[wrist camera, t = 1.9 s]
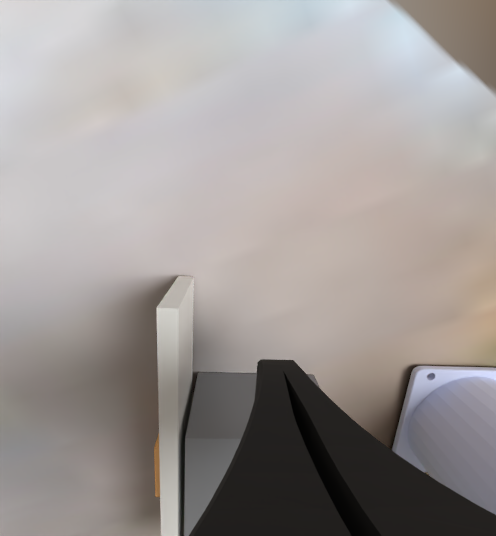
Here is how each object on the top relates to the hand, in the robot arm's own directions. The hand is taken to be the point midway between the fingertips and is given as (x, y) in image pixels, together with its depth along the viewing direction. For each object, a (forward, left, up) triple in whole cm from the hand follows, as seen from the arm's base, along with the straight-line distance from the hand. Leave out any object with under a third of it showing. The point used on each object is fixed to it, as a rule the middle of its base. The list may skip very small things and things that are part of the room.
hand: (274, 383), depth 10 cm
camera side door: (+4, +6, -5) cm, 9 cm away
